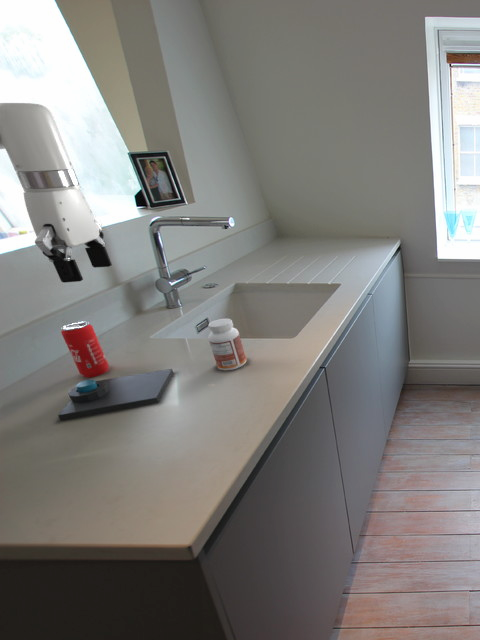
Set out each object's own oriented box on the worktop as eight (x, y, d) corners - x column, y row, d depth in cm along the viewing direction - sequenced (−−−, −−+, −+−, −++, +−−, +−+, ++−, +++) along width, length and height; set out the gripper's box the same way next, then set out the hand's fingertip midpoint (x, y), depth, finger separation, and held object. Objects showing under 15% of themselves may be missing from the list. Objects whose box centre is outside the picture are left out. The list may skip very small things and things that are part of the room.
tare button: (76, 394, 89) (72, 388, 88) (82, 387, 92) (79, 381, 91) (94, 391, 90) (91, 385, 89) (100, 384, 93) (97, 378, 92)
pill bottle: (237, 356, 109) (225, 315, 105) (252, 362, 106) (241, 320, 102) (212, 367, 104) (198, 324, 100) (227, 373, 102) (214, 330, 97)
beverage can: (108, 374, 102) (87, 327, 97) (79, 380, 99) (56, 332, 94) (112, 365, 106) (92, 319, 101) (84, 371, 103) (63, 323, 98)
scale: (60, 421, 85) (54, 408, 84) (88, 388, 96) (82, 376, 95) (158, 403, 91) (153, 390, 90) (174, 373, 102) (170, 362, 101)
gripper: (57, 177, 86) (92, 263, 93) (-15, 188, 70) (34, 290, 77) (101, 175, 87) (132, 260, 94) (41, 185, 72) (84, 286, 79)
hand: (88, 273), depth 86 cm, fingers open, 9 cm apart
